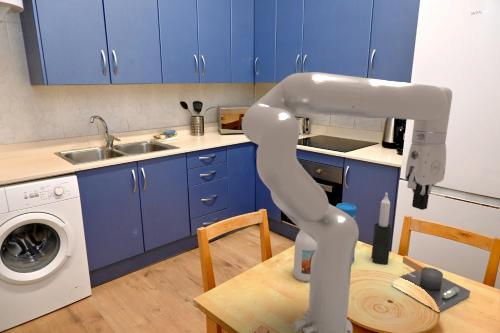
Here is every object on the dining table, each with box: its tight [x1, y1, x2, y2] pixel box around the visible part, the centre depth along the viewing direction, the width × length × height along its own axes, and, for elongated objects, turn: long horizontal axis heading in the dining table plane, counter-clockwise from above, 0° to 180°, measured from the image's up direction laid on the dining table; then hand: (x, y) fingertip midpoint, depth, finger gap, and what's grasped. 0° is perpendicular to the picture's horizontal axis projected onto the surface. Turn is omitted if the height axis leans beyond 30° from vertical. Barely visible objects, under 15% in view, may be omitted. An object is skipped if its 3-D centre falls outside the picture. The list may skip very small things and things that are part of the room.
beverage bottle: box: [335, 202, 358, 264], centre depth 120 cm, size 8×8×20 cm
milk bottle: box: [293, 228, 317, 283], centre depth 109 cm, size 8×8×20 cm
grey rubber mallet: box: [402, 255, 444, 290], centre depth 106 cm, size 13×6×4 cm, turn 24°
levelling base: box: [400, 270, 471, 313], centre depth 103 cm, size 15×15×4 cm
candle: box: [371, 192, 392, 265], centre depth 118 cm, size 5×5×25 cm
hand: (419, 207), depth 90 cm, fingers closed
